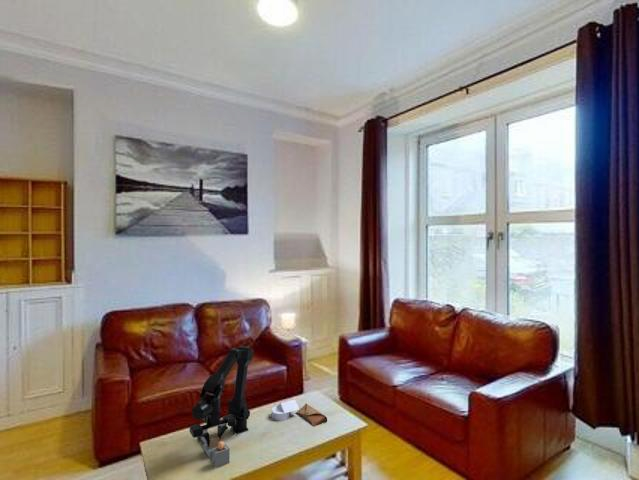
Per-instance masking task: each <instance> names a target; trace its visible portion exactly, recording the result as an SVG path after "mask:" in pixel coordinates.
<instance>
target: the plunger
mask: <svg viewBox="0 0 639 480" xmlns="http://www.w3.org/2000/svg"><path fill="white" fill-rule="evenodd" d="M223 447H224V441H223V440H220V442H218V451H222V450H223Z"/></svg>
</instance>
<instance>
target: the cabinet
mask: <svg viewBox="0 0 639 480" xmlns="http://www.w3.org/2000/svg"><path fill="white" fill-rule="evenodd" d="M230 456H231V455H230V447H229V445H228V444H227V443H225V444H224V447H223V450H222V451H218V447H216V448H213V449H212V457H211V464H212V465H213V467H214V468H215V469H217V468H220V467H222V466H224V465H225V466H226V465H228V464H230V458H231V457H230Z"/></svg>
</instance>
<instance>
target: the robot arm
mask: <svg viewBox="0 0 639 480" xmlns="http://www.w3.org/2000/svg"><path fill="white" fill-rule="evenodd" d="M254 352H255V351H254V349H253V348H252V347H250V346H246V345H245V346H243V345H239V346H238V347H234V348H231V349H229V350H228V353H227V355H226V356H225V359H224V360H223V361H222V363H221V364H220V366H219V367H218V368H217V370H216V372H215V373H213V374H211V375H209V377H208V378H207V379H206V380H205V382H204V384H203V386H202V389H201V391H200V394H199V397H198V399H199V401H197V402H196V404H195V406H194V407H193V408H192V410H191V414H192V417H193V418H194V419H195V420H196V421H201V420H202V421H203V422H204V423H205V424H203V425H201V424H200V423H199V422H198V423H194V424H192V425H190V427H189V433H190V435H191V436H192V438H194V439H195V438H197V437H199V436H202V437H204V438H205V441H206V443H207V446H208V447H209V435H210V433H209V430H210V429H213V428H216V427H217V432H216V434H217V435H218V436H219V442H220V441H222V437H223V435H224V434H225V432H226V430H228V428H229V427H230V429H231V431H232V432H233V433H234V434H235V435H238V434H240V433H244V432H247V431H249V428H248V427H247V426H248V420H249V417H250V415H251V411H250V410H249V409H248V407H247V400H246V398H245V392H246V384H247V383H246V382H247V375H248V368H249V367H248V366H249V365H250V363H251V362H252V360H253V357H254ZM235 364H237V365H236V366H237V368H236V377H235V383H234V390H233V391H234V392H233V397H232V398H231V399H230V400H228V404H227V405H228V407H227V413H228V414H225V415H223V416H222V418H221V415H222V413H221V396H223V395H224V393H223V390H224V388H225V386H226V380H227V379H226V378H227V377H228V376H229V373H230V372H231V371H232V369H233V368H234V365H235ZM200 399H201V400H200Z"/></svg>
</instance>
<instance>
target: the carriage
mask: <svg viewBox="0 0 639 480" xmlns="http://www.w3.org/2000/svg"><path fill="white" fill-rule="evenodd" d="M218 442H219V436H218V435H217V432H216V433H212V434H209V447H208V446H207V444H205V445H203V444H202V445H203V449H204V452H205V453H206V455H207V456H208V457H209V458H212V449H213V448H216V447H218Z"/></svg>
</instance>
